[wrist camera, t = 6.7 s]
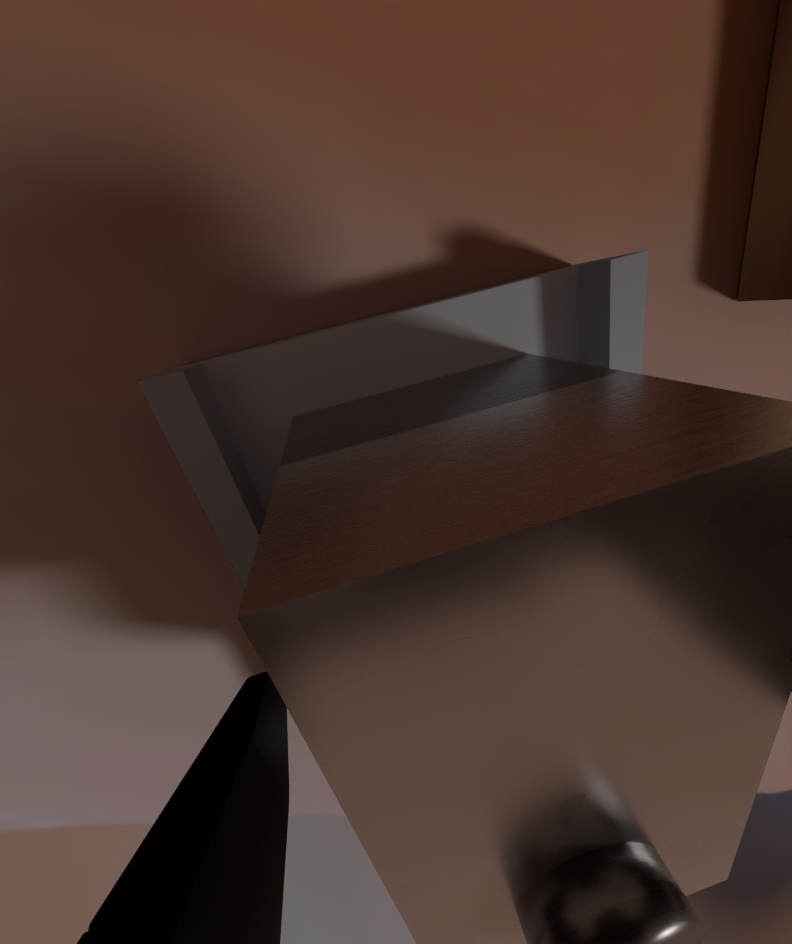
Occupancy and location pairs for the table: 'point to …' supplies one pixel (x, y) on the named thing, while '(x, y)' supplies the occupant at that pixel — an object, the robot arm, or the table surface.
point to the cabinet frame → (378, 375)
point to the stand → (773, 182)
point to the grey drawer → (535, 639)
